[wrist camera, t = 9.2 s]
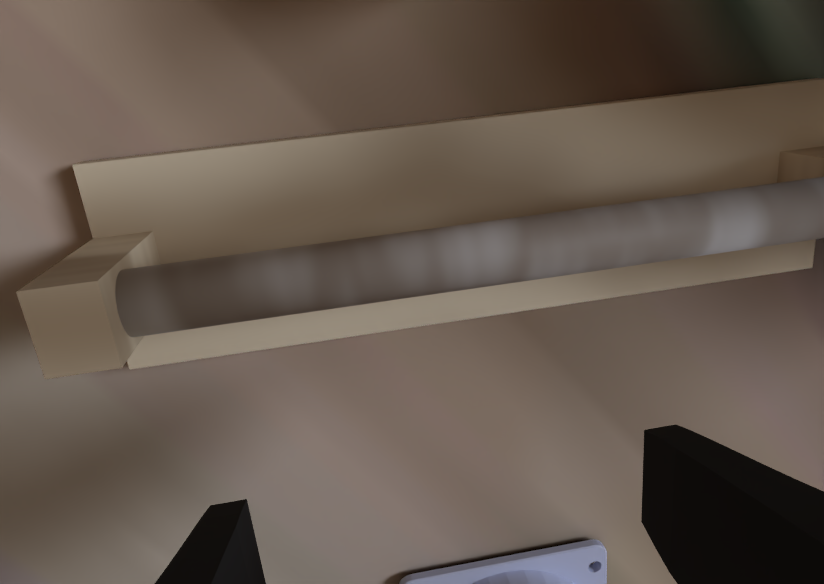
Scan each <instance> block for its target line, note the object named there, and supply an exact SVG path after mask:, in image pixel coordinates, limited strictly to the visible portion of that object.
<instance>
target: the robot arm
mask: <svg viewBox="0 0 824 584" xmlns="http://www.w3.org/2000/svg"><path fill="white" fill-rule="evenodd" d="M642 523H643V525H644V527H645V529H646V531H647V533H648V534H649V536H650V538H651V540H652V542H653V544H654V546H655V548H656V549H657V551H658V553H659V555H660V556H661V558H662V560H663V562H664V563H665V565H666V567H667V569H668V570H669V572H670V574H671V575H672V576H673V578H674V579H675V581H676V582H677V584H824V492H823V491H821V490H819V489H816V488H814V487H812V486H810V485H807V484H805V483H803V482H800V481H798V480H796V479H794V478H792V477H789V476H787V475H785V474H783V473H781V472H779V471H776V470H774V469H772V468H770V467H768V466H766V465H763V464H761V463H759V462H757V461H755V460H753V459H751V458H749V457H747V456H744V455H742V454H740V453H738V452H736V451H734V450H732V449H730V448H728V447H725V446H723V445H721V444H719V443H717V442H715V441H713V440H711V439H708V438H706V437H704V436H702V435H700V434H697V433H695V432H693V431H690V430H688V429H686V428H683V427H681V426H678V425H671V426H665V427H659V428H654V429H648V430H644V460H643V492H642ZM595 561H596V562H595ZM592 562H595V563H594V564H592V565H590V564H591V563H592ZM155 584H266V582H265V578H264V574H263V569H262V565H261V560H260V556H259V552H258V547H257V543H256V538H255V534H254V529H253V525H252V521H251V516H250V512H249V507H248V503H247V499H245V500H239V501H234V502H228V503H222V504H216V505H211V506H210V507H209V508H208V509H207V511H206V512H205V513H204V515H203V516H202V517H201V519H200V520H199V522H198V523H197V525H196V526H195V528H194V529H193V530H192V532H191V533H190V535H189V536H188V538H187V539H186V541H185V542H184V543H183V545H182V546H181V548H180V549H179V551H178V552H177V554H176V555H175V556H174V558H173V559H172V561H171V562H170V563H169V565H168V566H167V568H166V569H165V570H164V572H163V573H162V575H161V576H160V577H159V579H158V580H157V581H156V583H155ZM399 584H607V552H606V549H605V547H604V546H603V544H602V543H601V542H600V541H599V540H596V539H594V540H586V541H581V542H576V543H571V544H565V545H560V546H555V547H550V548H545V549H539V550H534V551H529V552H524V553H518V554H513V555H508V556H503V557H498V558H492V559H487V560H482V561H477V562H472V563H466V564H461V565H456V566H451V567H445V568H440V569H435V570H430V571H425V572H419V573H414V574H410V575H407V576H405V577H404V578H402V579H401V581H400V583H399Z"/></svg>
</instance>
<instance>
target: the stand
mask: <svg viewBox="0 0 824 584" xmlns="http://www.w3.org/2000/svg"><path fill="white" fill-rule="evenodd" d="M72 166H73V170H74V173H75V177H76V180H77V184H78V188H79V191H80V195H81V198H82V202H83V205H84V209H85V213H86V216H87V220H88V223H89V227H90V230H91V234H92V238H93V239H92V240H90V241H89V242H87V243H86V244H84V245H83V246H81V247H80V248H78V249H77V250H76V251H74V252H73V253H71V254H70V255H68V256H67V257H65V258H64V259H63V260H61V261H60V262H58V263H57V264H55V265H54V266H52V267H51V268H50V269H48V270H47V271H45V272H44V273H42V274H41V275H39V276H38V277H37V278H35V279H34V280H32V281H31V282H29V283H28V284H26V285H25V286H24V287H22V288H21V289H19V290H18V291H16V294H17V297H18V300H19V303H20V306H21V309H22V312H23V315H24V318H25V321H26V324H27V327H28V330H29V333H30V336H31V339H32V342H33V345H34V348H35V351H36V354H37V357H38V360H39V363H40V366H41V369H42V372H43V375H44V378H45V379H50V378H57V377H64V376H71V375H77V374H84V373H91V372H98V371H104V370H111V369H118V368H122V367H123V366H124V364H125V363H126V362H127V363H128V366H129V370H131V369H137V368H144V367H151V366H158V365H164V364H171V363H178V362H184V361H191V360H198V359H205V358H211V357H218V356H225V355H231V354H238V353H245V352H252V351H258V350H265V349H272V348H278V347H285V346H292V345H298V344H305V343H312V342H319V341H325V340H332V339H339V338H345V337H352V336H359V335H366V334H372V333H379V332H386V331H392V330H399V329H406V328H413V327H419V326H426V325H433V324H439V323H446V322H453V321H460V320H466V319H473V318H480V317H486V316H493V315H500V314H507V313H513V312H520V311H527V310H533V309H540V308H547V307H554V306H560V305H567V304H574V303H580V302H587V301H594V300H600V299H607V298H614V297H621V296H627V295H634V294H641V293H647V292H654V291H661V290H668V289H674V288H681V287H688V286H694V285H701V284H708V283H715V282H721V281H728V280H735V279H741V278H748V277H755V276H762V275H768V274H775V273H782V272H788V271H795V270H802V269H809V268H812V266H813V258H814V250H815V242H816V239H822V238H824V78H813V79H804V80H796V81H787V82H778V83H769V84H760V85H751V86H743V87H734V88H725V89H716V90H707V91H699V92H690V93H681V94H672V95H663V96H655V97H646V98H637V99H628V100H619V101H611V102H602V103H593V104H584V105H575V106H567V107H558V108H549V109H540V110H531V111H523V112H514V113H505V114H496V115H487V116H479V117H470V118H461V119H452V120H443V121H435V122H426V123H417V124H408V125H399V126H391V127H382V128H373V129H364V130H355V131H347V132H338V133H329V134H320V135H311V136H303V137H294V138H285V139H276V140H267V141H259V142H250V143H241V144H232V145H223V146H215V147H206V148H197V149H188V150H179V151H171V152H162V153H153V154H144V155H135V156H127V157H118V158H109V159H100V160H91V161H83V162H80V163H77V164H74V165H72Z"/></svg>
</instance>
